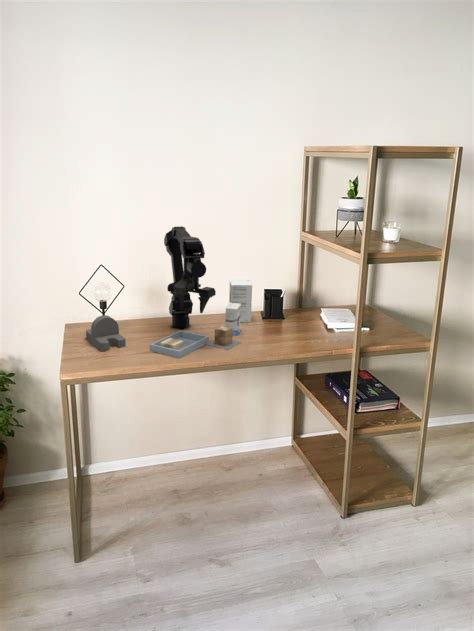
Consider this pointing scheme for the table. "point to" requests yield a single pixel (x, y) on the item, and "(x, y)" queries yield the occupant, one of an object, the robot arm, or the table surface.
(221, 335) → the walnut box
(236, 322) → the ink box
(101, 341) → the bracket
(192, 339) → the parts bin
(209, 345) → the mat
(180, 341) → the birch box
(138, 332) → the table surface
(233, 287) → the supplement box
